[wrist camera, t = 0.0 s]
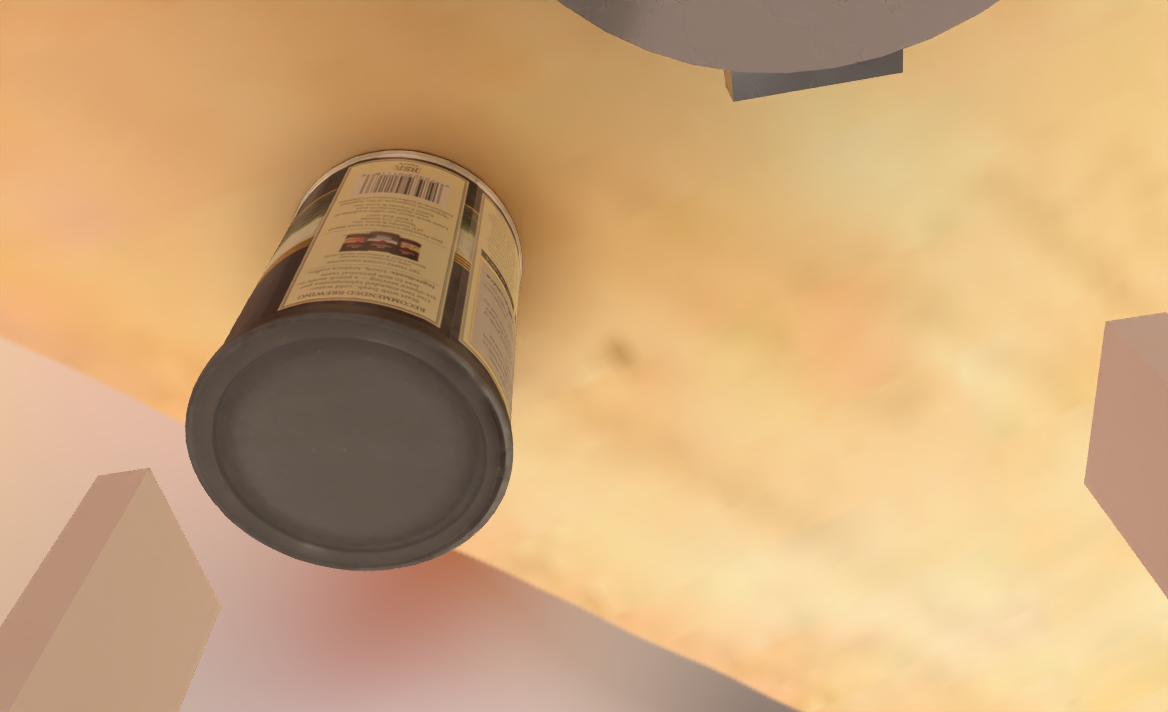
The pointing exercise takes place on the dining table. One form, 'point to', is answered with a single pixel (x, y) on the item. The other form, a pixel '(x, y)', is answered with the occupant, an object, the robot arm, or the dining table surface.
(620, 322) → the dining table surface
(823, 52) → the lid
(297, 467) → the coffee can
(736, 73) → the pot
